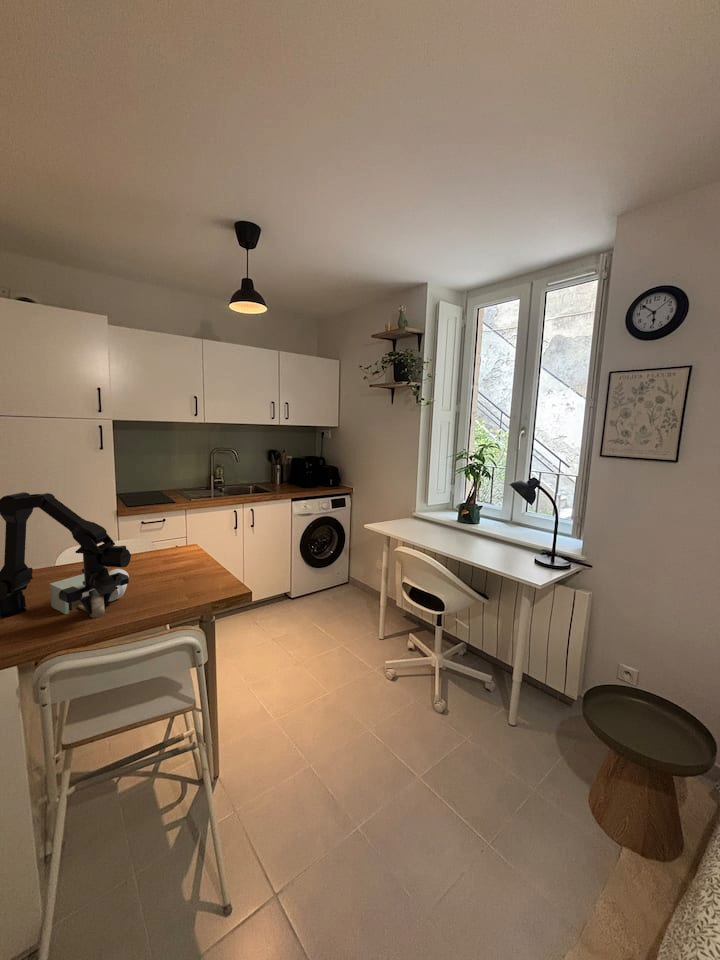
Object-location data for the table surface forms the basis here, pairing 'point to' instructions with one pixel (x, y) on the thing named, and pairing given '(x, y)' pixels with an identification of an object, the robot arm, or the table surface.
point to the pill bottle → (121, 589)
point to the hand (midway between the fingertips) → (97, 611)
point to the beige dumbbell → (96, 606)
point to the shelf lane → (64, 584)
